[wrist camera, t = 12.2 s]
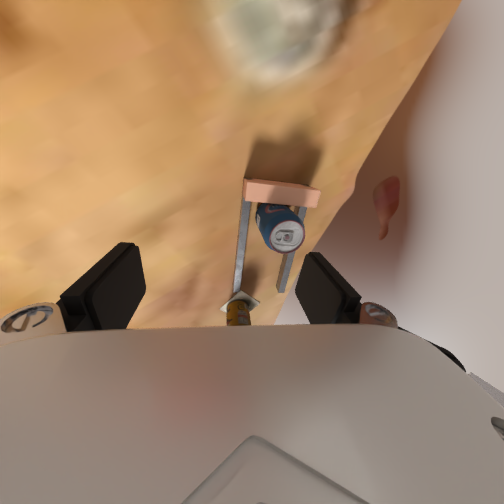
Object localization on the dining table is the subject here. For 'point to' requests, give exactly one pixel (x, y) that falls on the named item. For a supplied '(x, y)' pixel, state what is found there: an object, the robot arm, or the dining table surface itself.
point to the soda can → (280, 227)
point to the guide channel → (241, 243)
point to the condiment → (239, 309)
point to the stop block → (280, 193)
